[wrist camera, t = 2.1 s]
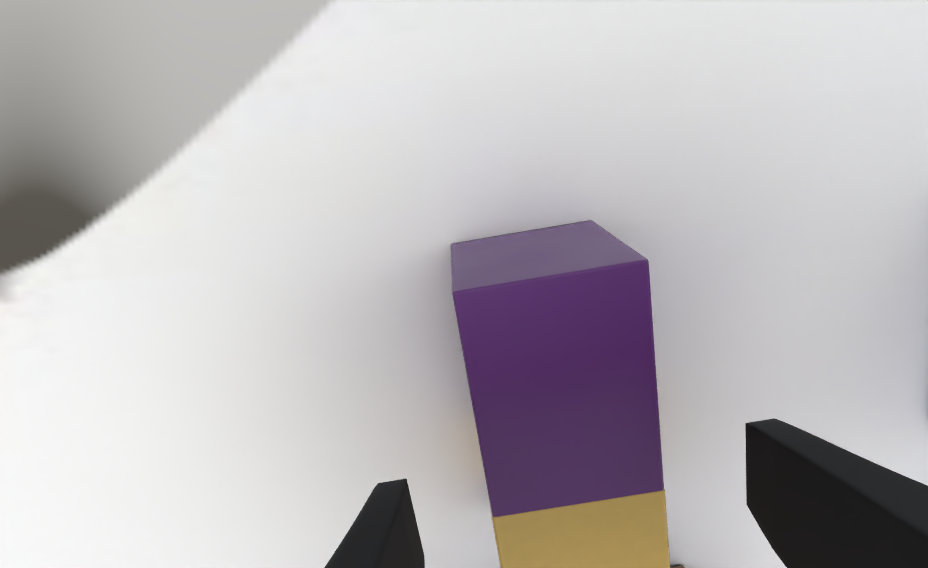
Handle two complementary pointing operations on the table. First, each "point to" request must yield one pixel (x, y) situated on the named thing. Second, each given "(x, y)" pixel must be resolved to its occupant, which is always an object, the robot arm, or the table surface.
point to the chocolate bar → (564, 396)
